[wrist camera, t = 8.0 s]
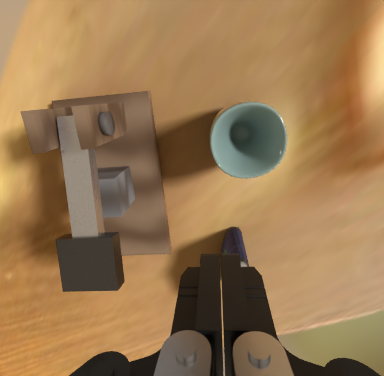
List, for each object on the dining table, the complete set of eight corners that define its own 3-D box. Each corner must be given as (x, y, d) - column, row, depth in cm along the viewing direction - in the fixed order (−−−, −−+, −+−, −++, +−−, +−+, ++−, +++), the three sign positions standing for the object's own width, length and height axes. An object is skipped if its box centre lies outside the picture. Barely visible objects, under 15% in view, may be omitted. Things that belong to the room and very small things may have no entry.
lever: (50, 120, 29) (38, 117, 27) (106, 115, 29) (97, 112, 27) (72, 283, 32) (62, 291, 30) (124, 281, 31) (118, 290, 29)
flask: (236, 276, 44) (242, 331, 34) (218, 275, 44) (219, 328, 34) (243, 226, 41) (252, 270, 31) (224, 225, 41) (227, 267, 31)
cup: (272, 152, 37) (292, 172, 27) (216, 162, 38) (217, 185, 28) (264, 93, 34) (284, 93, 25) (205, 106, 35) (202, 111, 26)
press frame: (57, 100, 37) (-17, 103, 25) (150, 91, 35) (117, 89, 23) (94, 251, 44) (51, 308, 33) (171, 248, 43) (155, 306, 31)
